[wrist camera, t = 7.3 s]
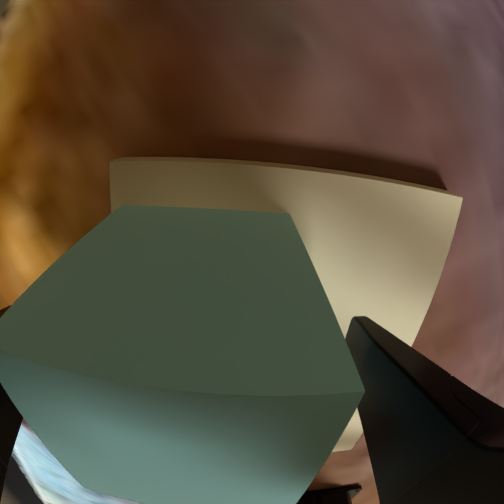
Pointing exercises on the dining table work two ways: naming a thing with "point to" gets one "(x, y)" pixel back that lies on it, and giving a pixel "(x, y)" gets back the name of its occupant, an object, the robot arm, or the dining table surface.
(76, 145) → the dining table surface
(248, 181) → the board
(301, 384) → the teal rectangular block
